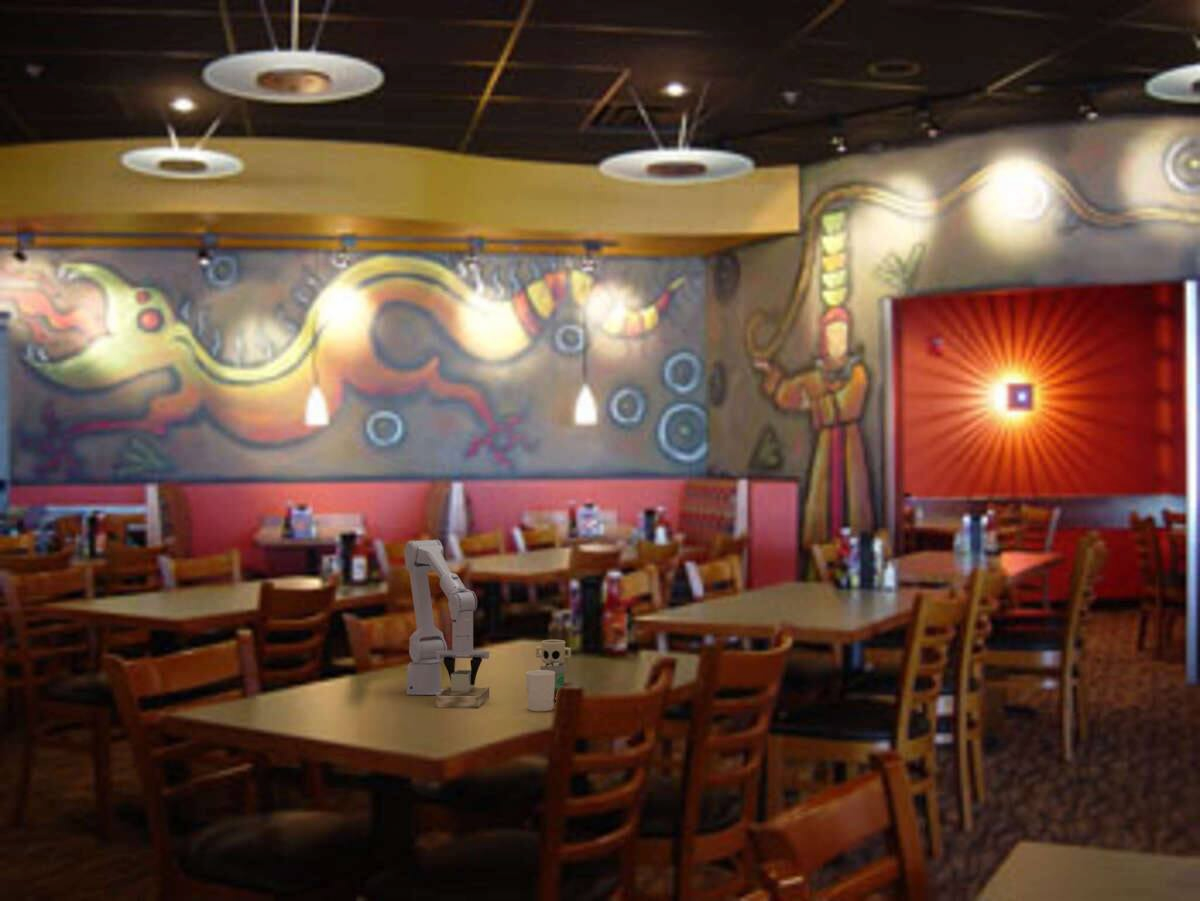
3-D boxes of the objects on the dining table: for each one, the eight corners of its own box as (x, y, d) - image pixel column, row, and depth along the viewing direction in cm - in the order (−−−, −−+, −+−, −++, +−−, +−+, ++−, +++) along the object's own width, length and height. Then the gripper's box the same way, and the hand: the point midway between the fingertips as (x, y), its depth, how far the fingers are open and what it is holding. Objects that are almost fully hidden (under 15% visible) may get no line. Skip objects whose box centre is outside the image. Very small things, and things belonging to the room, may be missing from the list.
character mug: (532, 685, 415) (532, 642, 415) (539, 682, 422) (539, 639, 422) (567, 687, 413) (567, 643, 413) (574, 683, 420) (574, 640, 420)
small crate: (451, 692, 384) (450, 674, 384) (457, 687, 392) (456, 669, 392) (468, 692, 384) (468, 674, 384) (474, 687, 392) (474, 670, 392)
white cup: (535, 713, 372) (534, 675, 372) (520, 708, 379) (520, 671, 379) (560, 710, 376) (560, 673, 376) (546, 705, 383) (546, 669, 383)
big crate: (435, 707, 380) (435, 696, 380) (447, 697, 396) (447, 686, 396) (478, 708, 379) (478, 697, 379) (489, 697, 395) (489, 687, 395)
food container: (561, 703, 387) (561, 667, 387) (539, 702, 388) (539, 666, 388) (571, 695, 399) (571, 660, 399) (550, 695, 400) (550, 660, 400)
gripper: (433, 637, 385) (434, 686, 385) (485, 637, 383) (485, 687, 383) (439, 633, 392) (439, 682, 392) (490, 634, 390) (490, 682, 390)
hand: (462, 684), depth 388 cm, fingers closed on small crate, 5 cm apart
